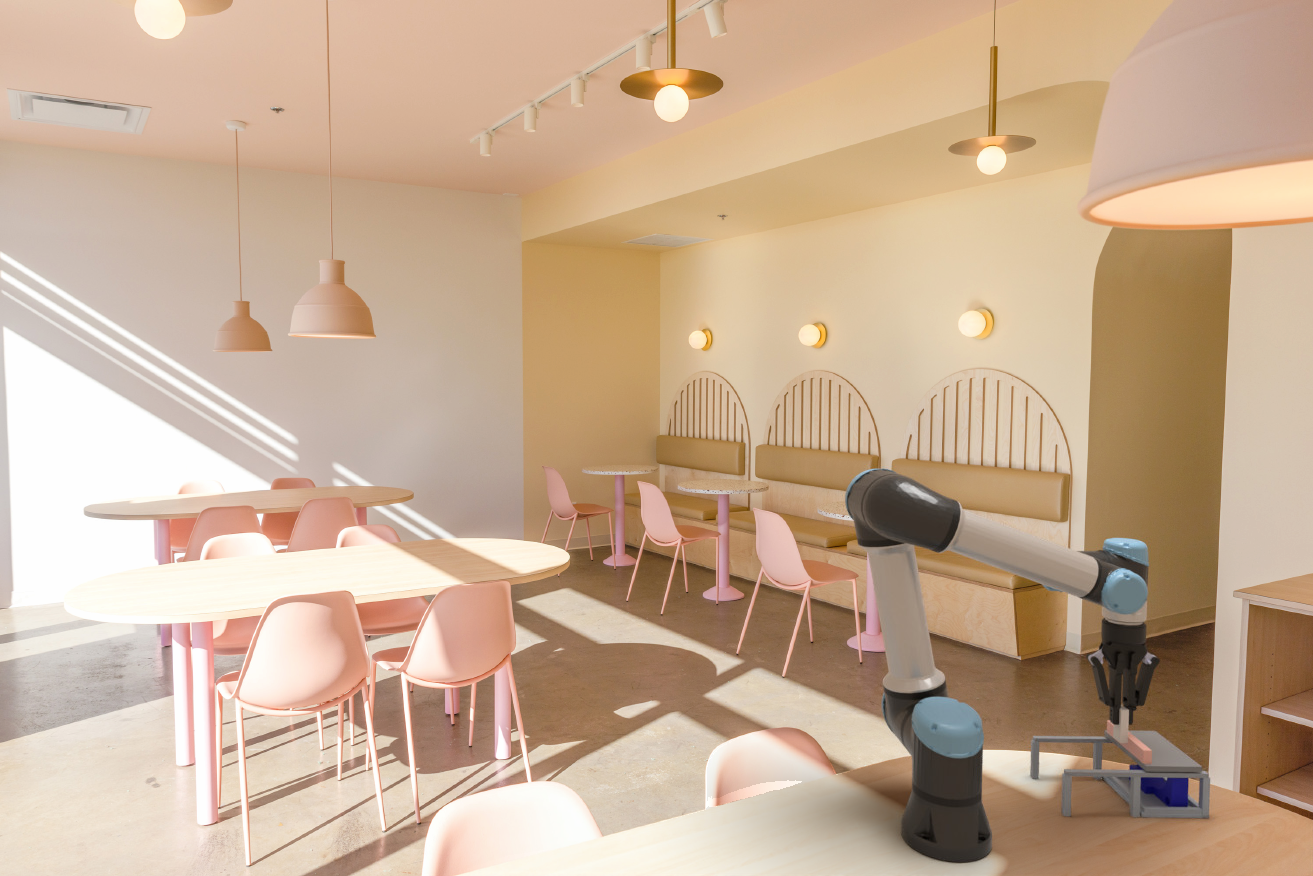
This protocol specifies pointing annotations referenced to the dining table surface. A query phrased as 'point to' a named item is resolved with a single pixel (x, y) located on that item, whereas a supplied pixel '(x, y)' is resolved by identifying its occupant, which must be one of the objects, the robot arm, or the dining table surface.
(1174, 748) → the lid
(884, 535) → the robot arm
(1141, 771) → the grey frame rack
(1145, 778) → the blue bracket
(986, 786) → the dining table surface
